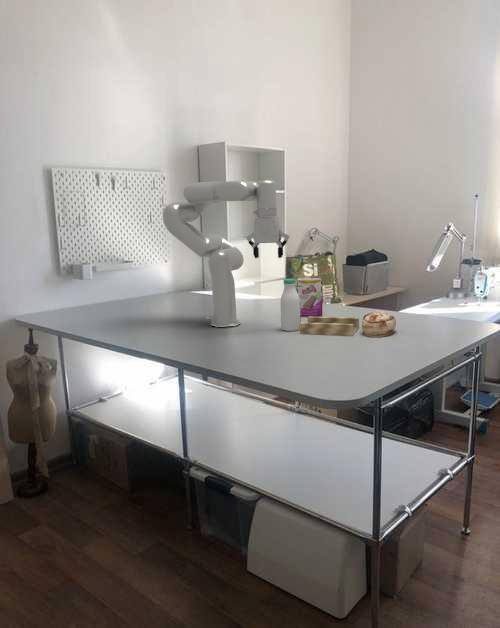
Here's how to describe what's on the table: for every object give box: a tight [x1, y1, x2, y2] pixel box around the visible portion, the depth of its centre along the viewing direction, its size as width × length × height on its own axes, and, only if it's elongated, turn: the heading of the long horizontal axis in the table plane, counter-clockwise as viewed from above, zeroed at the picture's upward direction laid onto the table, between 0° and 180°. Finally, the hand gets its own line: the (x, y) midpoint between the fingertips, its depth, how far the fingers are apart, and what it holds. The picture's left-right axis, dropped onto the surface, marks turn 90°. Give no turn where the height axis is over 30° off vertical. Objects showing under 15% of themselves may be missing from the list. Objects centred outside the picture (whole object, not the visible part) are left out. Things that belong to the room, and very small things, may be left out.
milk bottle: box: [280, 278, 302, 332], centre depth 210 cm, size 8×8×20 cm
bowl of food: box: [361, 310, 397, 338], centre depth 198 cm, size 13×15×8 cm
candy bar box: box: [296, 278, 323, 317], centre depth 236 cm, size 11×5×16 cm, turn 84°
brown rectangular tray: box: [299, 316, 360, 337], centre depth 205 cm, size 20×14×4 cm
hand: (268, 257), depth 210 cm, fingers open, 9 cm apart
